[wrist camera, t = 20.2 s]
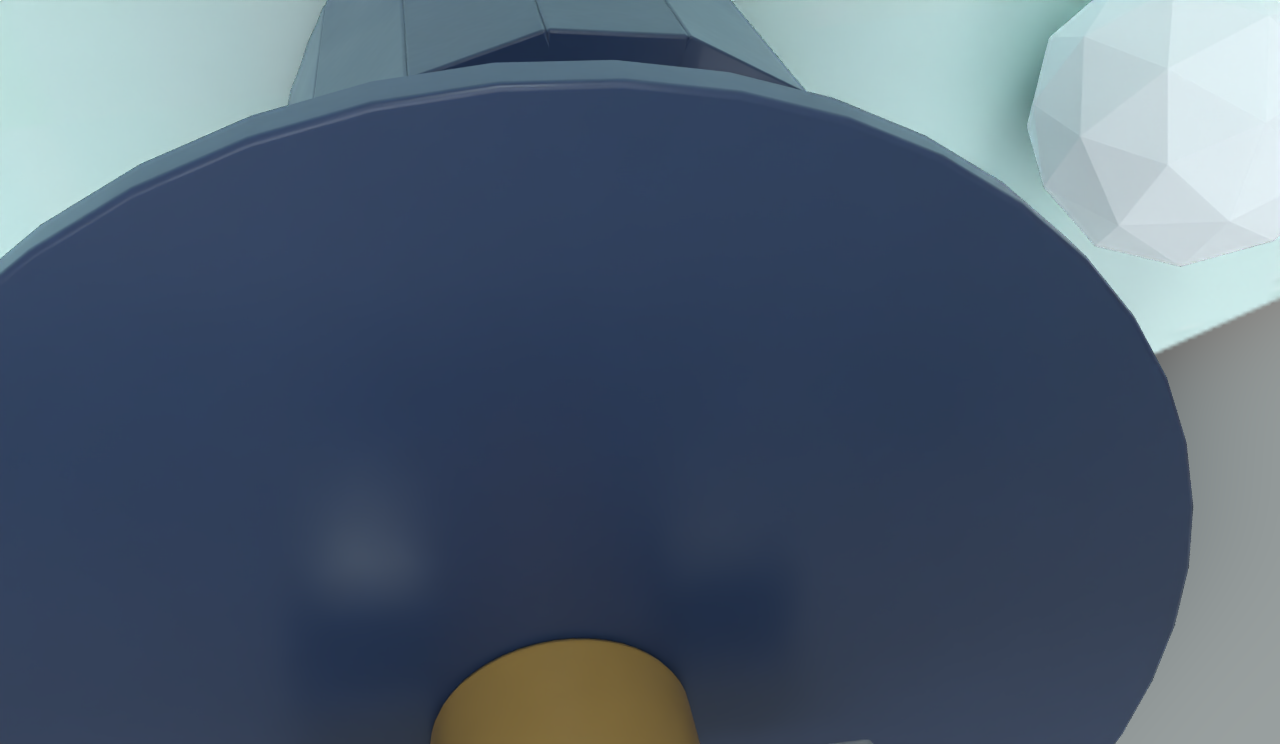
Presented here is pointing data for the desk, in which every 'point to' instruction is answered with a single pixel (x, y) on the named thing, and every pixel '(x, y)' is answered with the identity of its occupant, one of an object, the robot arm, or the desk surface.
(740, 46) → the tin
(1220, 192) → the ball
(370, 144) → the tin lid
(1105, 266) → the desk surface
